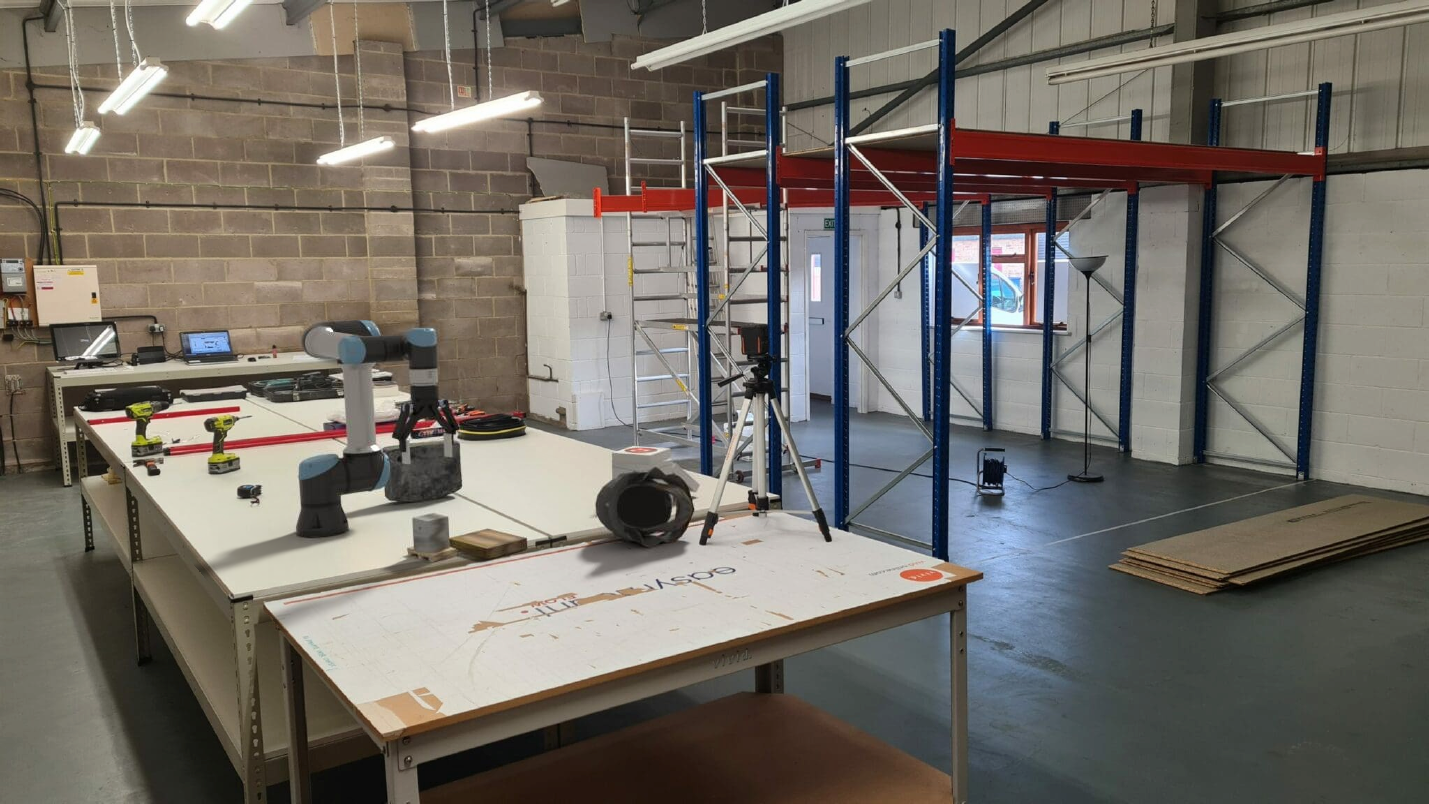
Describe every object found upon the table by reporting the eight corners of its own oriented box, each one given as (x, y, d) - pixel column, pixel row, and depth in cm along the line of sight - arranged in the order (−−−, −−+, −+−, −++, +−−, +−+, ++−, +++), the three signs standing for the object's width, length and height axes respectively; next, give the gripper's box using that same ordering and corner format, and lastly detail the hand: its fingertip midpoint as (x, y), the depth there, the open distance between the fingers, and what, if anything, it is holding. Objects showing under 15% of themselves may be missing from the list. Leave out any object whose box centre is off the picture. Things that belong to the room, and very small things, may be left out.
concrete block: (455, 492, 358) (452, 438, 355) (464, 497, 350) (461, 441, 348) (381, 502, 342) (378, 446, 340) (388, 507, 335) (385, 449, 333)
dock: (487, 559, 271) (487, 548, 271) (448, 548, 283) (448, 538, 282) (527, 548, 282) (527, 537, 282) (488, 538, 293) (487, 528, 293)
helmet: (708, 470, 289) (665, 470, 310) (614, 462, 272) (574, 463, 293) (704, 550, 287) (660, 545, 307) (608, 547, 269) (569, 542, 290)
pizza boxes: (703, 496, 348) (703, 446, 345) (639, 510, 327) (638, 457, 324) (667, 488, 361) (667, 440, 359) (603, 502, 340) (602, 450, 338)
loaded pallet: (432, 562, 269) (430, 523, 268) (407, 554, 277) (405, 516, 275) (456, 555, 275) (455, 517, 274) (431, 548, 283) (429, 511, 282)
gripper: (391, 389, 258) (396, 468, 261) (469, 381, 277) (473, 454, 280) (375, 387, 263) (380, 465, 265) (453, 379, 282) (457, 452, 285)
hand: (427, 460), depth 273 cm, fingers open, 13 cm apart
